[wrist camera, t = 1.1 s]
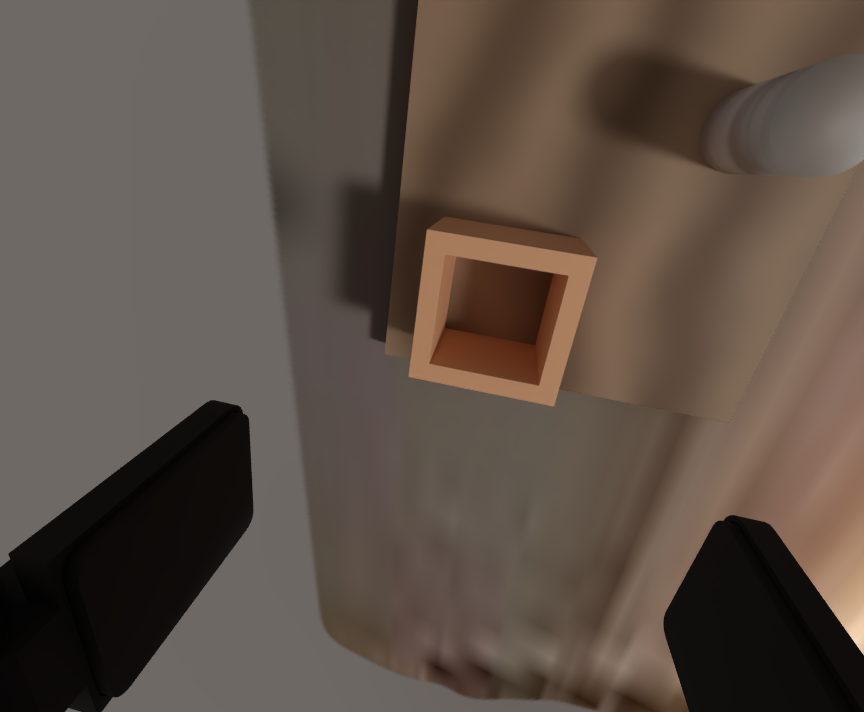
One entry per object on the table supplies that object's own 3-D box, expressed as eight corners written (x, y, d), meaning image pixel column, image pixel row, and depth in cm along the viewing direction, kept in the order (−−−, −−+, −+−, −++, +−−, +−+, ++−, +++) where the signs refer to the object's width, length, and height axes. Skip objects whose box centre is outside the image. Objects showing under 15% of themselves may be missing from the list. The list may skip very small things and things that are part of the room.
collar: (581, 238, 22) (597, 257, 17) (547, 362, 25) (553, 406, 20) (445, 216, 23) (426, 229, 18) (427, 339, 26) (408, 376, 21)
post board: (924, -17, 17) (1184, -134, 11) (718, 409, 26) (789, 496, 19) (432, -63, 19) (386, -184, 13) (391, 344, 28) (350, 402, 21)
